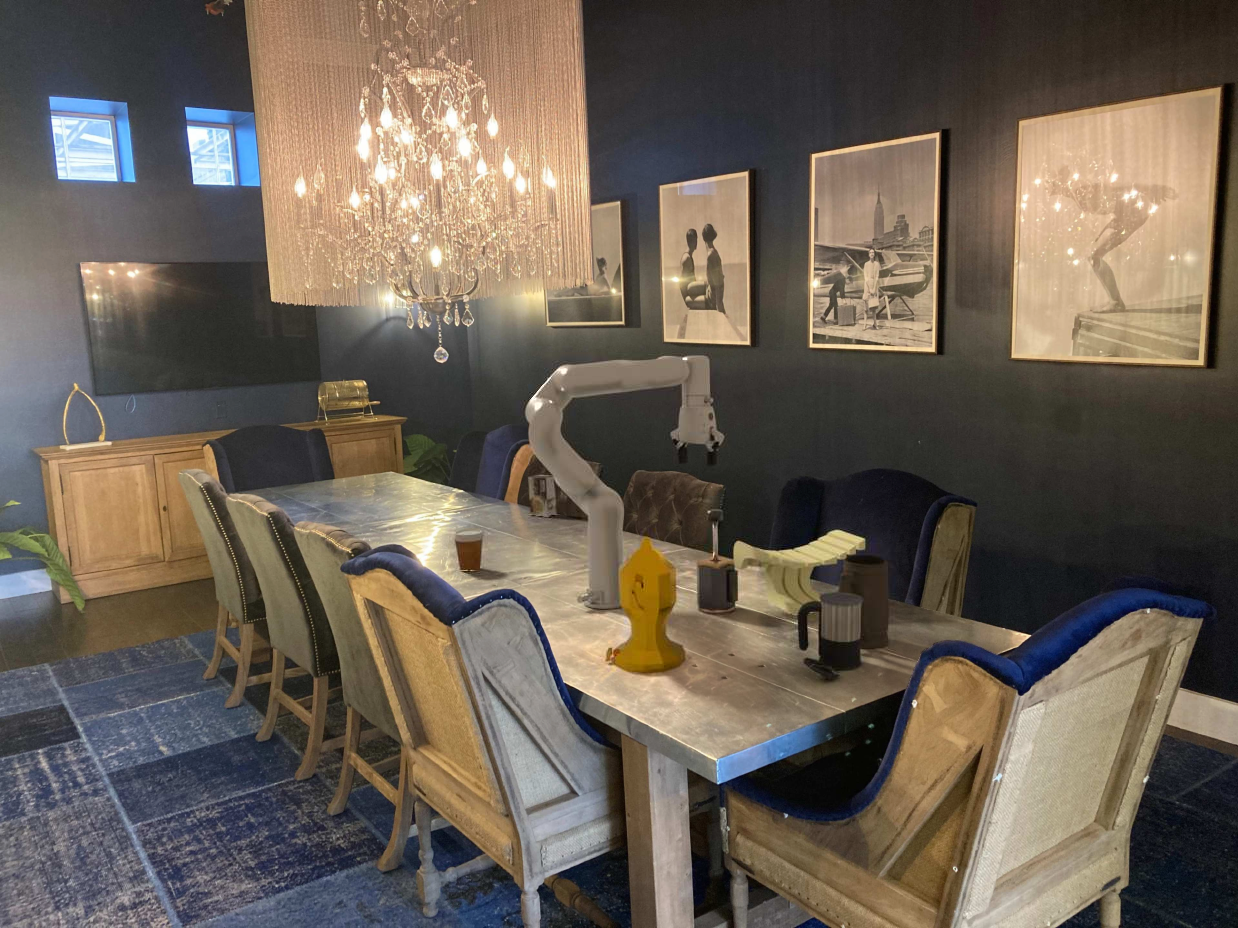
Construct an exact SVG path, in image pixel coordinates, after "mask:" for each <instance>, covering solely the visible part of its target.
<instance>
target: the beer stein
mask: <svg viewBox="0 0 1238 928" xmlns="http://www.w3.org/2000/svg"><path fill="white" fill-rule="evenodd" d="M887 560H888V559H886V558H885V557H882V556H879V555H873V554H853V555H849V556H846V558H845V559H843V565H842V568H843V572H841V573H840V574H839V585H838V590H837V592H841V593H850V594H855V595H858V596H860V597H862V598H863V600H864V601H863V602H862V604H861V632H860V649H879V648H883V646H884V647H885V646H887V645H889V643H890V639H889V635H888V631H889V625H890V624H889V623H890V622H889V620H890V615H889V614H890V613H889V610H890V604H889V603H890V602H889V600H890V594H889V593H890V592H889V584H888V578H889V577H888V576H889V575H888V570H889V565H888V561H887Z"/></svg>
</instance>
